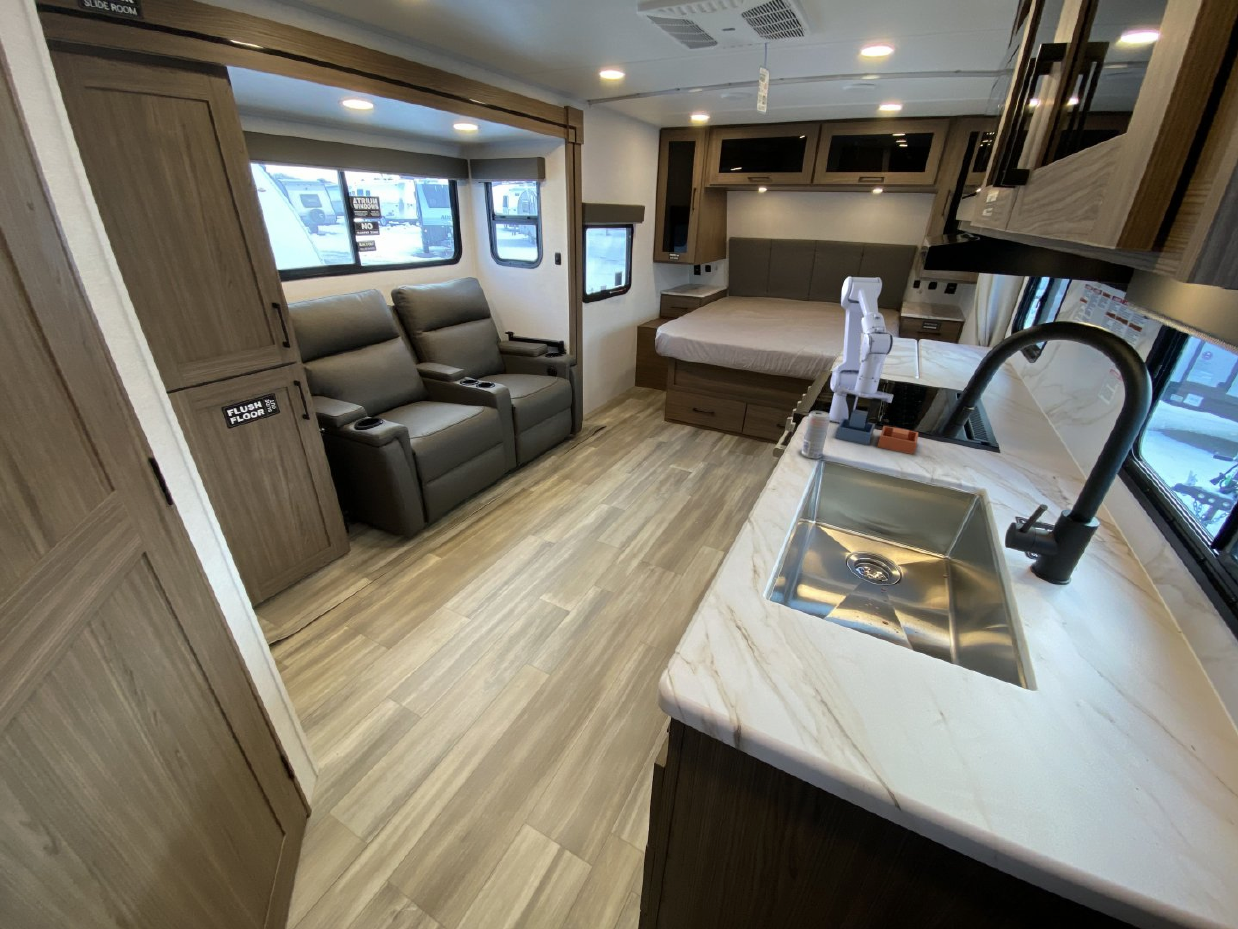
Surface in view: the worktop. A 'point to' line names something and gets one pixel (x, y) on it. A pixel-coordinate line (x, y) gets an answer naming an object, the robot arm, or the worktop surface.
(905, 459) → the worktop surface
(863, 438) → the slate bin
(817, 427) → the energy drink
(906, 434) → the rust block
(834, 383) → the robot arm
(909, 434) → the rust bin
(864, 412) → the slate block
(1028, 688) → the worktop surface
